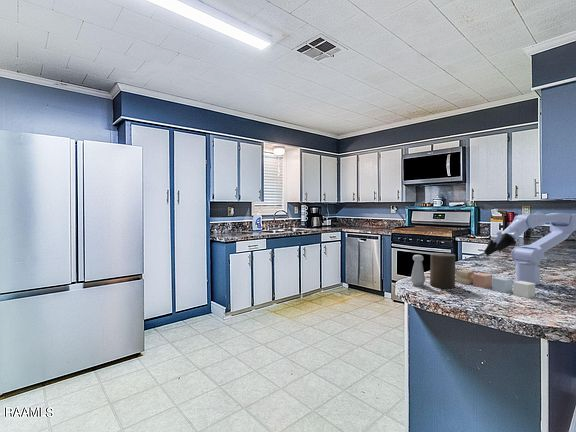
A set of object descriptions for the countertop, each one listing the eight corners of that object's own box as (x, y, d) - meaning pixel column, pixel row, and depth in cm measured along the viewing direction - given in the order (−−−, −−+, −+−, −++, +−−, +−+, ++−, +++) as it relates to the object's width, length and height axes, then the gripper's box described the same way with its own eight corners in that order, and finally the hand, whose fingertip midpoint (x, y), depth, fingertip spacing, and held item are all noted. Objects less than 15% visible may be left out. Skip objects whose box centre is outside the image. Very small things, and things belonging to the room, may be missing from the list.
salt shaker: (426, 286, 134) (426, 256, 134) (412, 286, 135) (412, 256, 135) (423, 283, 140) (423, 254, 140) (409, 282, 141) (409, 253, 141)
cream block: (520, 293, 125) (520, 280, 124) (535, 296, 120) (535, 283, 120) (513, 294, 122) (513, 282, 122) (527, 298, 118) (528, 285, 118)
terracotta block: (480, 284, 139) (480, 272, 139) (491, 286, 134) (492, 275, 134) (473, 285, 137) (473, 274, 136) (484, 288, 132) (484, 276, 132)
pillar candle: (449, 290, 129) (450, 253, 129) (425, 285, 136) (426, 250, 136) (458, 286, 135) (459, 251, 135) (435, 282, 143) (436, 249, 142)
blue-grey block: (499, 288, 132) (499, 276, 132) (512, 291, 127) (512, 279, 127) (492, 290, 129) (492, 277, 129) (504, 293, 125) (505, 280, 125)
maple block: (463, 280, 146) (463, 269, 146) (473, 282, 142) (473, 271, 141) (456, 281, 144) (456, 270, 144) (466, 284, 139) (466, 272, 139)
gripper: (494, 231, 144) (474, 248, 141) (516, 220, 130) (495, 239, 127) (506, 243, 142) (486, 260, 139) (530, 233, 129) (509, 252, 125)
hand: (491, 251), depth 133 cm, fingers open, 7 cm apart
